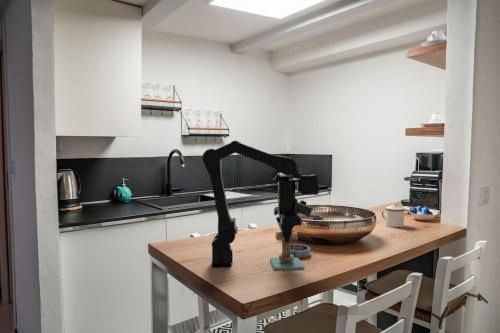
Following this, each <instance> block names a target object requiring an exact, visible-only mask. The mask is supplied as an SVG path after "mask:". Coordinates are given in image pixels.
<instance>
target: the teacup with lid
mask: <svg viewBox="0 0 500 333" xmlns="http://www.w3.org/2000/svg"><path fill="white" fill-rule="evenodd" d="M405 210H406V209H405V207H403V206H401V205H399V204H398V203H397V202H393V203H392V204H391V205H388V206H385V209H383V210H381V212H380V215H381V218H382V219H384V221H385V223H384V224H385V226H387V227H388V226H389V228H394V227H401V228H403V227H404V226H405ZM384 213H385V215H384Z"/></svg>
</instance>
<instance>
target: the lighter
mask: <svg viewBox="0 0 500 333" xmlns="http://www.w3.org/2000/svg"><path fill="white" fill-rule="evenodd" d="M310 220H323V221H324V216H323V215H321V214H314V213H313V214H312V213H311V214H310Z"/></svg>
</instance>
